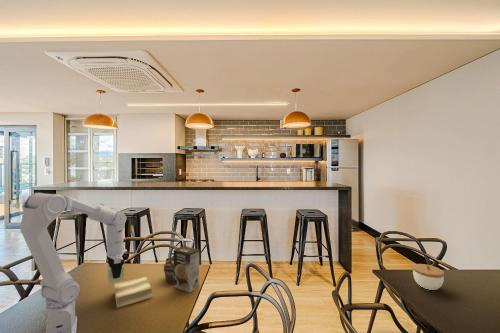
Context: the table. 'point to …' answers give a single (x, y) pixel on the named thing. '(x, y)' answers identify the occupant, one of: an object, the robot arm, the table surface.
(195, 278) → the coffee box
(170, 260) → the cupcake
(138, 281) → the birch block
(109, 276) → the sage cube
